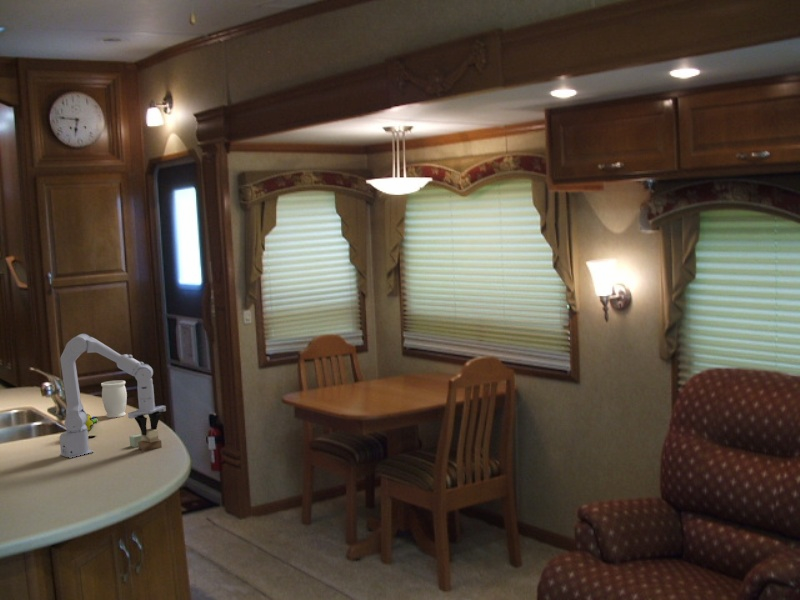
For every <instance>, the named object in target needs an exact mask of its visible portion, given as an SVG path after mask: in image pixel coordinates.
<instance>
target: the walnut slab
mask: <svg viewBox="0 0 800 600" xmlns="http://www.w3.org/2000/svg"><path fill="white" fill-rule="evenodd" d="M158 439H159V441H155V442H151V443H150V442H146V441H138V447H137V448H138V450H140V449H141V451H142V450H143V451H142V452H146V450H147V451H150V450H151V449H152V450H156V449H160V448H162V447H163V446H162V445H163V444H162V439H160V438H158ZM152 450H151V451H152Z"/></svg>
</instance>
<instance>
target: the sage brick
mask: <svg viewBox="0 0 800 600" xmlns="http://www.w3.org/2000/svg"><path fill="white" fill-rule="evenodd" d="M138 441H142V438H141V433H138V434H133V435H129V446H130V447H131V446H132V447H133V448H139V447H138Z"/></svg>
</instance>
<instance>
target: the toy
mask: <svg viewBox="0 0 800 600" xmlns="http://www.w3.org/2000/svg"><path fill="white" fill-rule="evenodd" d="M86 414H87V417H88V419H87V422H86V423H85V425H86V426H87V430H88V433H89V432H90V431H92V429H93V426H94V424H93V423H96V424H97V423H98V422H99V419H98V417H97V416H92V415H90V414H88V413H87V412H86ZM89 437H92V435H88V438H89Z"/></svg>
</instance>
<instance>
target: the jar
mask: <svg viewBox="0 0 800 600" xmlns="http://www.w3.org/2000/svg"><path fill="white" fill-rule="evenodd" d="M126 383H127V382H126V380H123V379H121V380H120V379H119V380H109V381H108V380H107V381H103V382H101V383H100V386H101V387H102V389H101V400H102V403H103V407H104V410H105V412H106V415H105V417H106V418H110V419H115V418H116V417H117V418H121V417H124V416H126V415H127V413H126V408H127V400H128V399H127V397H128V394H127V393H128V392H127V388H126V386H125V385H126ZM117 418H116V419H117Z"/></svg>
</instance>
